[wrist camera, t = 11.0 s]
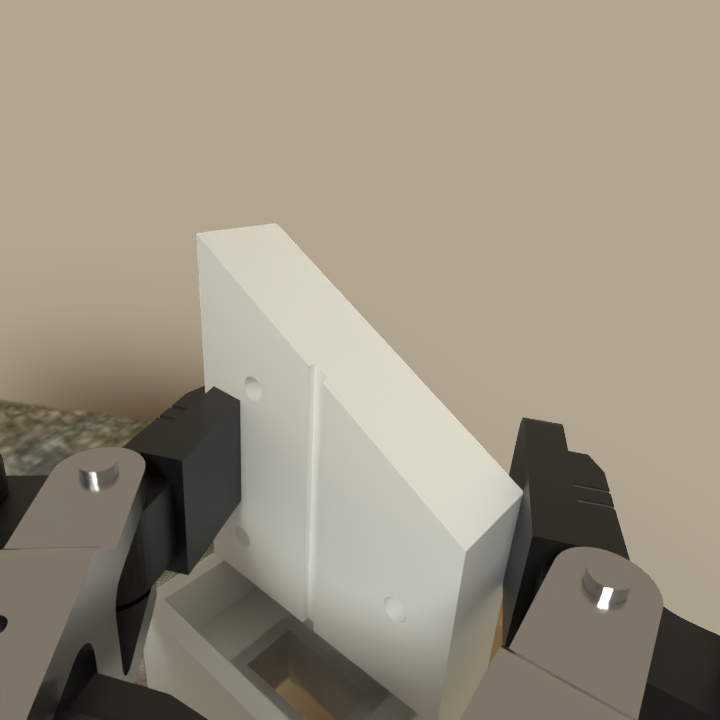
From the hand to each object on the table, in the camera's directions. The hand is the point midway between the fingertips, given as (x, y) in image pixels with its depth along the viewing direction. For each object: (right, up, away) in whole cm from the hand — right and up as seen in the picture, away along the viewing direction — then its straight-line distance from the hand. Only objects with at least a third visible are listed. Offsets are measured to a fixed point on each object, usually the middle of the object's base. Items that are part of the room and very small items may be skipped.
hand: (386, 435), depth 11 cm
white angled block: (-2, -7, 0) cm, 7 cm away
